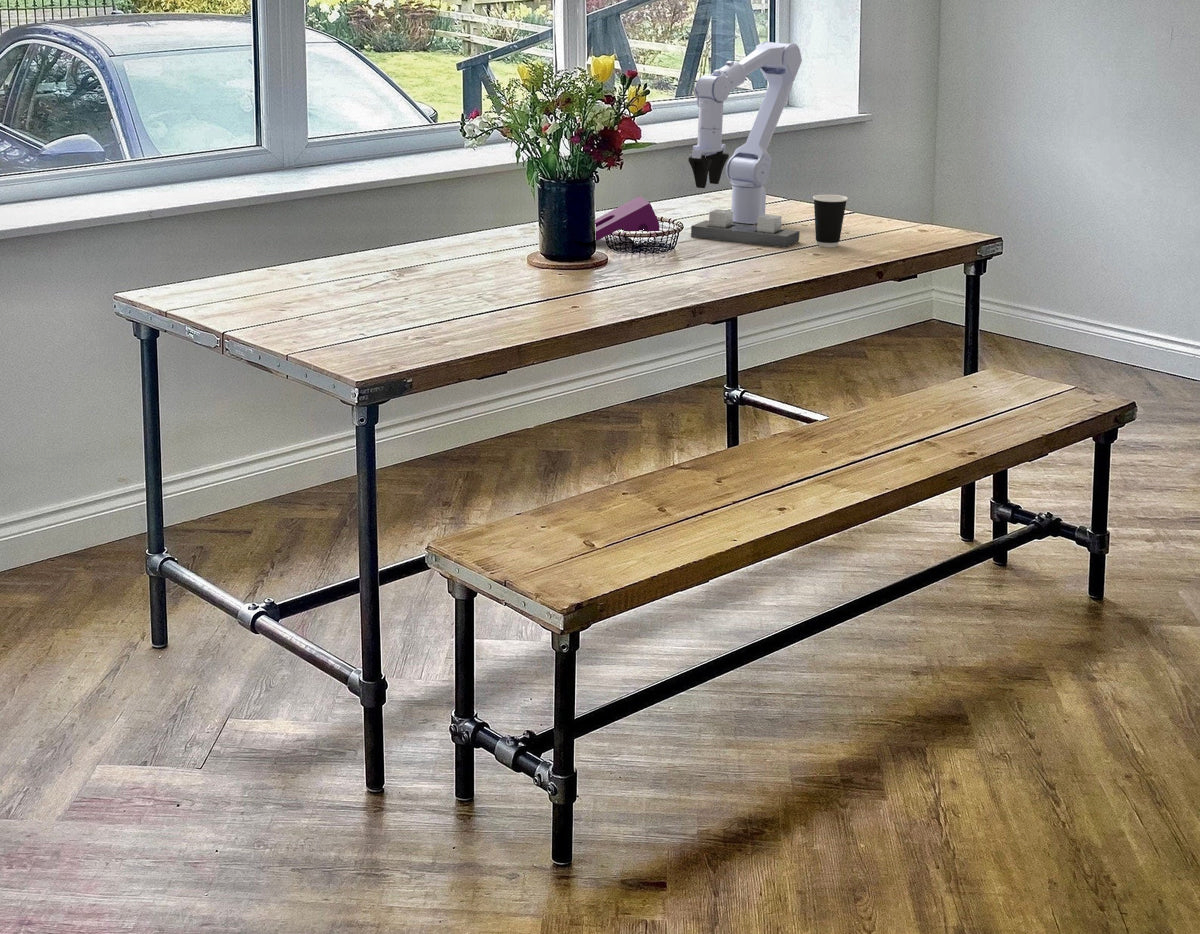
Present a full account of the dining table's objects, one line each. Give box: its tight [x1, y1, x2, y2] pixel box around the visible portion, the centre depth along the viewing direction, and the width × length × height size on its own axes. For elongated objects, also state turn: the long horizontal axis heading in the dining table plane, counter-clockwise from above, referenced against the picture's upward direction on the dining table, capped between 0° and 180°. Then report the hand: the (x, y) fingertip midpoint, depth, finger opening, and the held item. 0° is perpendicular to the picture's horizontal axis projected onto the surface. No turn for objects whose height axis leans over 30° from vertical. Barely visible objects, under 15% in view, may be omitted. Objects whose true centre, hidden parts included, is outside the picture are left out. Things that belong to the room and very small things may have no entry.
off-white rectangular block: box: [756, 213, 782, 234], centre depth 332 cm, size 4×4×6 cm
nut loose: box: [708, 208, 734, 229], centre depth 338 cm, size 4×4×6 cm
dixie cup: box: [812, 194, 849, 248], centre depth 329 cm, size 8×8×11 cm
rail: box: [690, 219, 800, 248], centre depth 336 cm, size 8×24×3 cm, turn 61°
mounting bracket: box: [594, 195, 660, 242], centre depth 333 cm, size 9×8×18 cm
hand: (707, 185), depth 344 cm, fingers open, 7 cm apart
